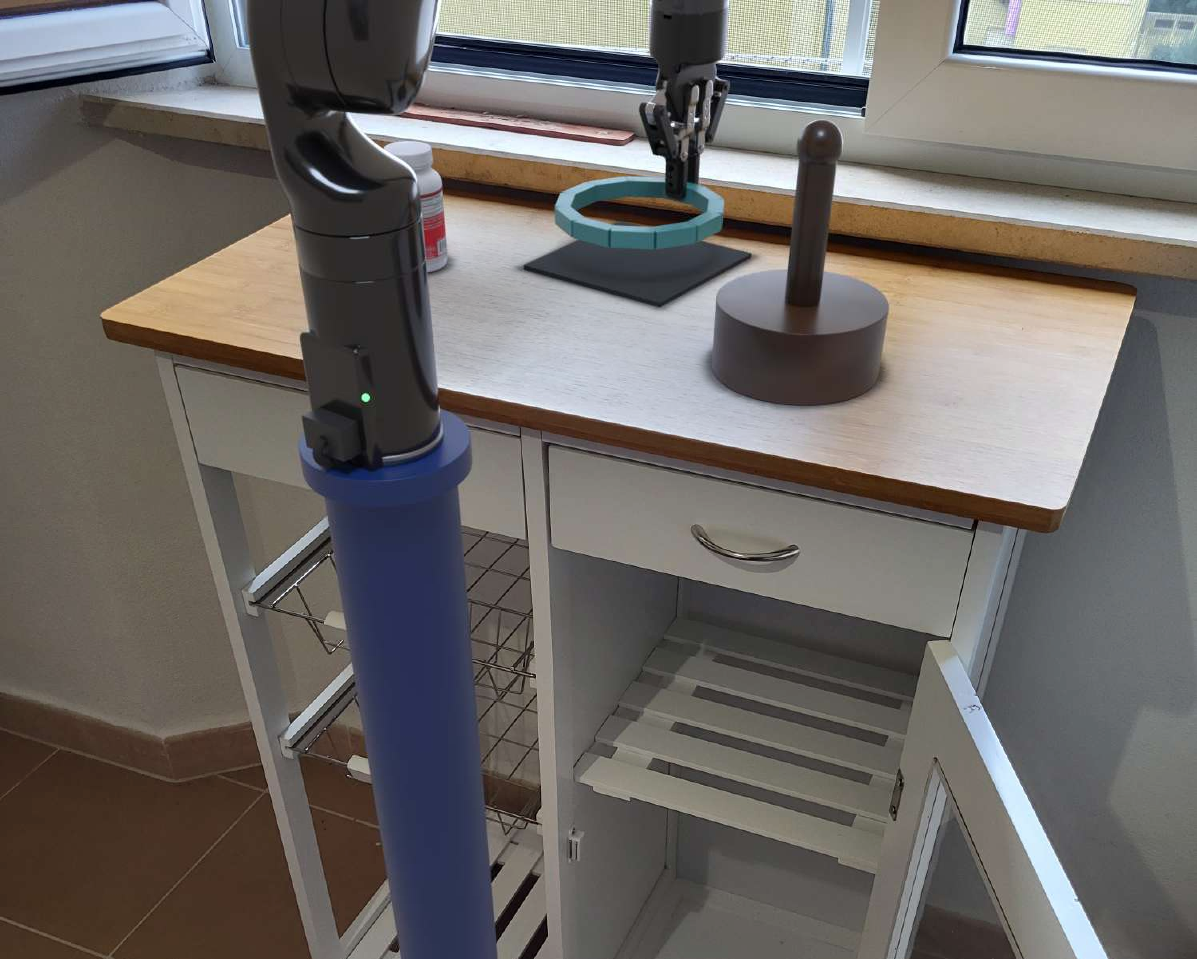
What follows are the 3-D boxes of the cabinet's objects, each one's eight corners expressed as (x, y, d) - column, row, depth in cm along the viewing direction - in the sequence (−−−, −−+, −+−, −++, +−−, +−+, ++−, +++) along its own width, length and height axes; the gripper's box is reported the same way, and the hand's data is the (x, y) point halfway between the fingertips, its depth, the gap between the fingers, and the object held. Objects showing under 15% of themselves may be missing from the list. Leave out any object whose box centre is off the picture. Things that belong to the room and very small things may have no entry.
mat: (659, 307, 119) (660, 303, 119) (523, 268, 126) (523, 264, 126) (751, 257, 129) (751, 253, 129) (620, 224, 136) (620, 220, 136)
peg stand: (827, 421, 101) (863, 159, 88) (679, 375, 107) (691, 125, 94) (906, 361, 110) (950, 115, 96) (765, 322, 116) (788, 86, 103)
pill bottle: (380, 259, 128) (366, 143, 121) (435, 250, 130) (425, 135, 123) (400, 279, 124) (388, 160, 117) (457, 269, 126) (448, 151, 119)
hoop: (661, 261, 116) (662, 244, 115) (523, 225, 123) (522, 208, 122) (753, 213, 126) (755, 197, 125) (620, 182, 133) (620, 166, 132)
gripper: (696, -15, 123) (687, 172, 135) (615, 8, 115) (614, 205, 126) (760, -6, 119) (746, 185, 131) (682, 18, 111) (674, 220, 123)
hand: (681, 194), depth 129 cm, fingers closed on hoop, 1 cm apart
